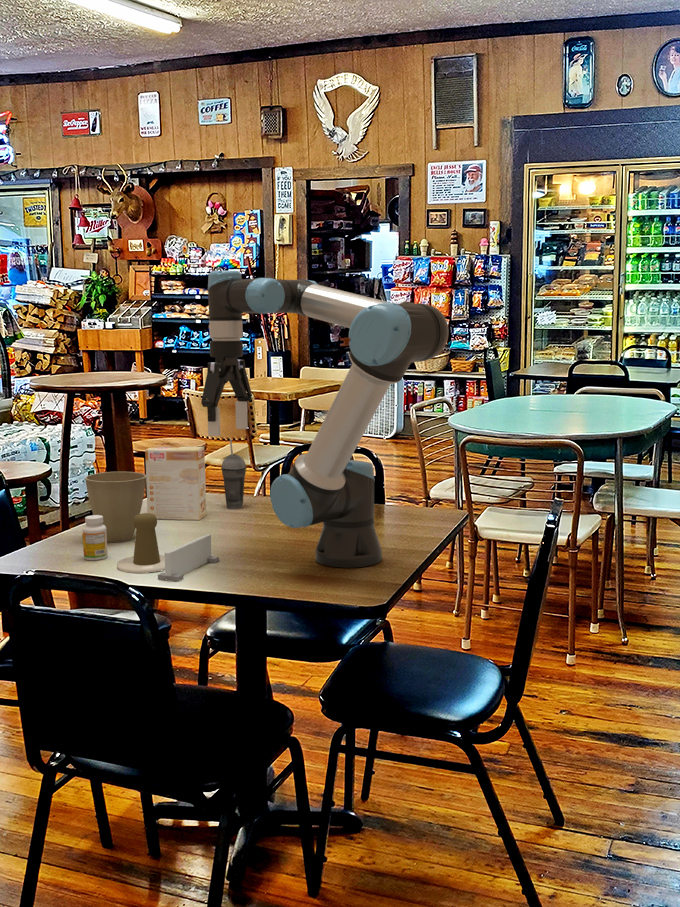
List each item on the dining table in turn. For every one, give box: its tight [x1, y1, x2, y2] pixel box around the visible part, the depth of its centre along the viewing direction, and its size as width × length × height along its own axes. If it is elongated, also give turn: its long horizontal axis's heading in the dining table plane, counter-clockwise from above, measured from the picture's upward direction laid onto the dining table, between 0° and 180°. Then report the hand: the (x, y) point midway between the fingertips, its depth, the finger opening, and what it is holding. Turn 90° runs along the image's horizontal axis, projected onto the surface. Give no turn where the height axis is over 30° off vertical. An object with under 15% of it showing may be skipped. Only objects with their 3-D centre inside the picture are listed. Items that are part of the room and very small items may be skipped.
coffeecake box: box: [144, 446, 207, 521], centre depth 265 cm, size 15×7×20 cm, turn 82°
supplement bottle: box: [82, 514, 109, 561], centre depth 223 cm, size 5×5×10 cm
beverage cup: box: [220, 438, 247, 510], centre depth 278 cm, size 7×7×20 cm
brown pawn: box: [133, 512, 160, 565], centre depth 215 cm, size 6×6×11 cm
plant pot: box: [84, 471, 147, 543], centre depth 241 cm, size 15×15×16 cm
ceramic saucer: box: [116, 554, 165, 574], centre depth 216 cm, size 13×13×1 cm
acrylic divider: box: [157, 533, 220, 582], centre depth 212 cm, size 5×18×6 cm, turn 159°
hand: (228, 432), depth 222 cm, fingers open, 13 cm apart
